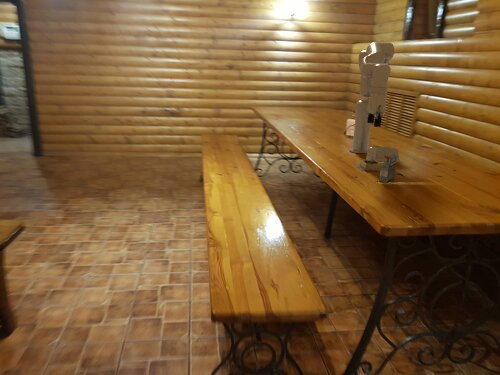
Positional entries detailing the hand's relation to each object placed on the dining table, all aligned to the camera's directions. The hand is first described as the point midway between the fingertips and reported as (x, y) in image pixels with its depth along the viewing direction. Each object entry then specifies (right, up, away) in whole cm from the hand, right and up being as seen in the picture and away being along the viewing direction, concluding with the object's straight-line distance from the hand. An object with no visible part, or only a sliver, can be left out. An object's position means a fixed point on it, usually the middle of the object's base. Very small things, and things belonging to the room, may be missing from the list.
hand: (373, 124), depth 194 cm
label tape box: (+2, -29, -13) cm, 32 cm away
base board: (+2, -23, +4) cm, 24 cm away
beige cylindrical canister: (-1, -22, +3) cm, 22 cm away
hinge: (+12, -18, +21) cm, 30 cm away
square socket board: (+3, -22, +3) cm, 23 cm away
